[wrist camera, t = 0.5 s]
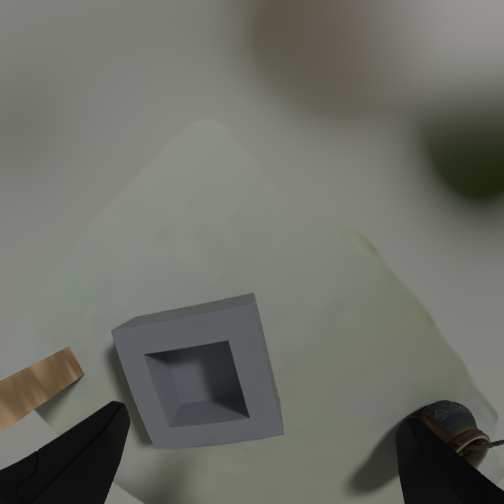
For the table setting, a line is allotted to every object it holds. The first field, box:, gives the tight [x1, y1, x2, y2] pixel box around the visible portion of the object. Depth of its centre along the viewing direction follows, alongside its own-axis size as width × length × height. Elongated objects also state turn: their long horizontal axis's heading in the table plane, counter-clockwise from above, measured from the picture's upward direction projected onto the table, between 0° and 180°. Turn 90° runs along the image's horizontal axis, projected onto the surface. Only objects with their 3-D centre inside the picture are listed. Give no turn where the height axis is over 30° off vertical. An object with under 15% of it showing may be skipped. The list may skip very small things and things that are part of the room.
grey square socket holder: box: [111, 293, 284, 449], centre depth 21 cm, size 10×10×5 cm
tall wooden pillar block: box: [0, 347, 84, 431], centre depth 18 cm, size 3×3×12 cm
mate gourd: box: [414, 400, 504, 469], centre depth 18 cm, size 7×8×10 cm
